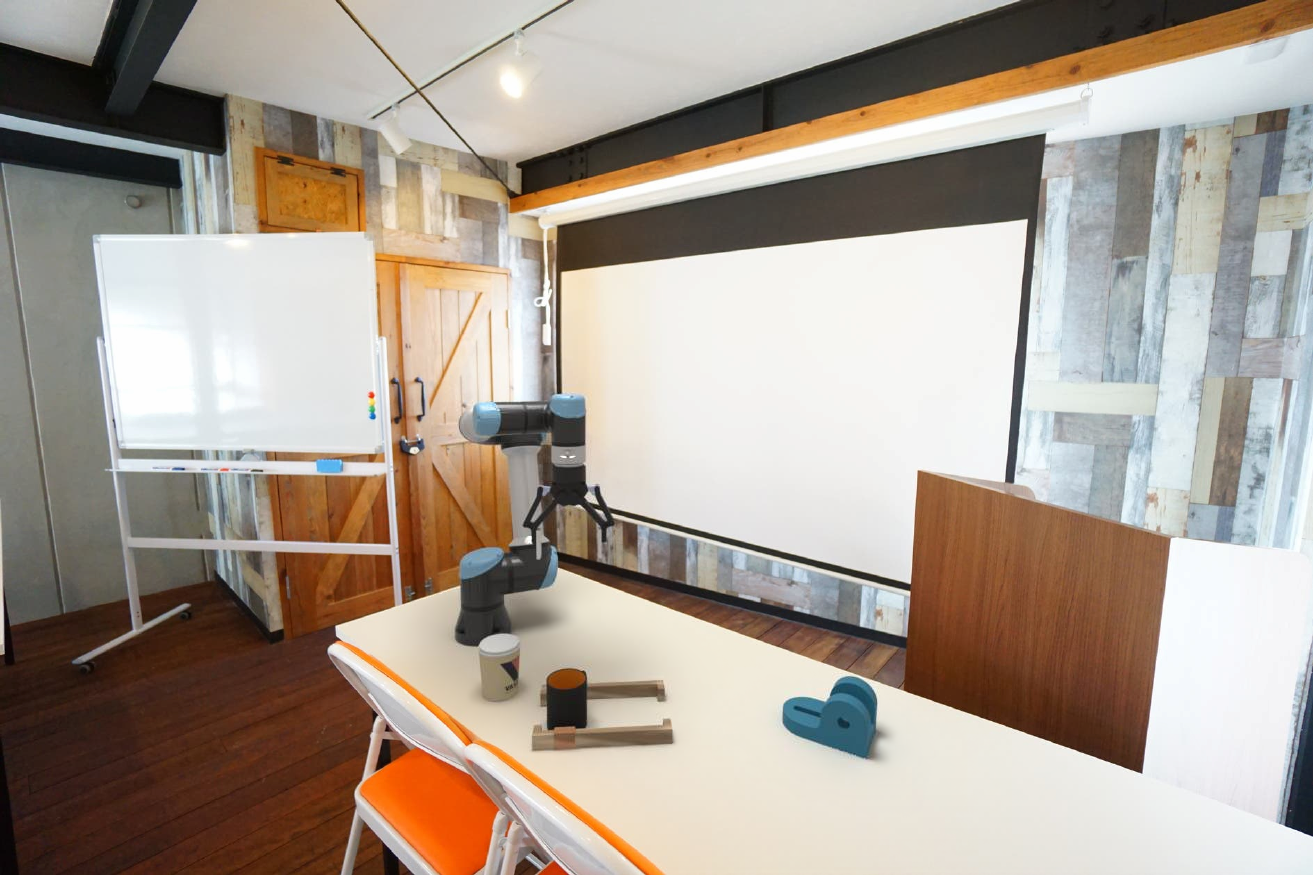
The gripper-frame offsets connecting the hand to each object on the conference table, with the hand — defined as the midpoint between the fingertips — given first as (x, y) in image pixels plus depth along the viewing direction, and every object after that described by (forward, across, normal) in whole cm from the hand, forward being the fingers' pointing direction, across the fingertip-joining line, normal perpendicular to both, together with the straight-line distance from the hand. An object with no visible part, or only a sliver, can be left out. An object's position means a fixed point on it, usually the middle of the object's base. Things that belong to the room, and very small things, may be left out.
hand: (569, 556), depth 128 cm
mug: (+32, +1, -12) cm, 34 cm away
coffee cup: (+32, -16, 0) cm, 36 cm away
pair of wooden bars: (+32, +8, -12) cm, 35 cm away
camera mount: (+32, +54, -19) cm, 65 cm away
